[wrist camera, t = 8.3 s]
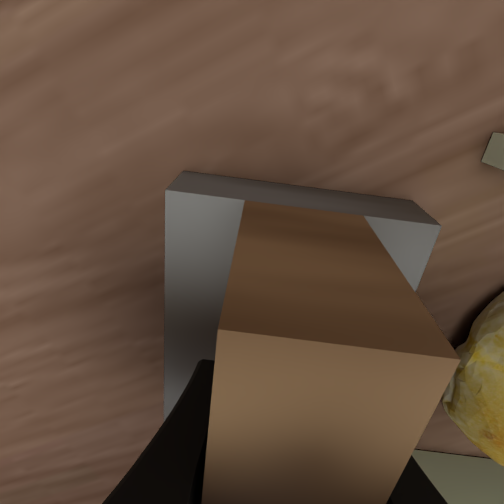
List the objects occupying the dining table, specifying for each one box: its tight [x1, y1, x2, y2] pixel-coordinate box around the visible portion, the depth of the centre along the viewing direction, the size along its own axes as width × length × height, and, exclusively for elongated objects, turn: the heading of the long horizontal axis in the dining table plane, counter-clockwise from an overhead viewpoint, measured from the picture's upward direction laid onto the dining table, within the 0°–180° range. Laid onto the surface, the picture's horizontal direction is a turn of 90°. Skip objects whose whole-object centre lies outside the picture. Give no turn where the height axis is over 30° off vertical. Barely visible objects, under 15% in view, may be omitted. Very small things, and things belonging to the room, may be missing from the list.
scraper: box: [164, 171, 461, 504], centre depth 10 cm, size 10×7×7 cm
